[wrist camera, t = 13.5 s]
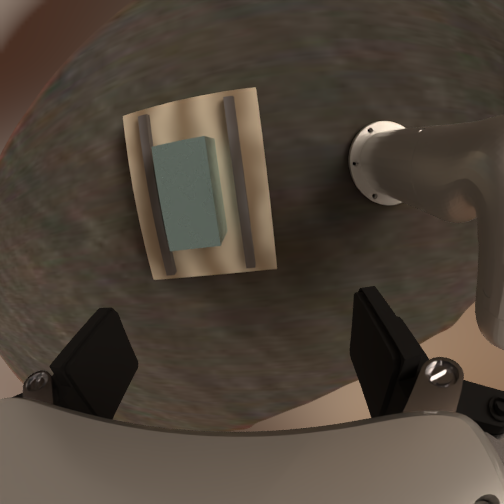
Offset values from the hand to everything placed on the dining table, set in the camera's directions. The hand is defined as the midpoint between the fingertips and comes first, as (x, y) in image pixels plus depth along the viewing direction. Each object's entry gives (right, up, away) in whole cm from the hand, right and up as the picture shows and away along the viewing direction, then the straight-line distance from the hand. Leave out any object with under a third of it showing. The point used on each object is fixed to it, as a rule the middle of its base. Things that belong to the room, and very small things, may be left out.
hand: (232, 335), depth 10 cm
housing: (-6, +11, +24) cm, 27 cm away
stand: (-6, +13, +28) cm, 31 cm away
